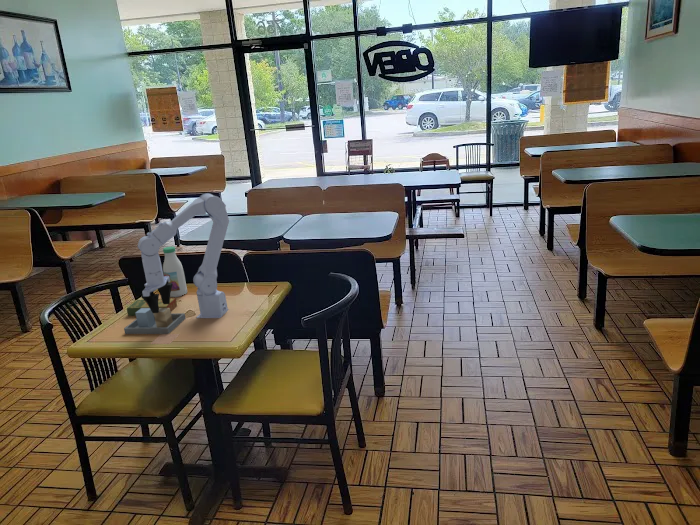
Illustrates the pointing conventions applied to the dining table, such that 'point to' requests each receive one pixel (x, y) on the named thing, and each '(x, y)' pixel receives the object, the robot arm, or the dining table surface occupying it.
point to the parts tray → (134, 328)
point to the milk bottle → (174, 272)
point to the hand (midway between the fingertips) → (161, 308)
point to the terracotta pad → (165, 338)
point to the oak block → (163, 317)
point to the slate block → (145, 318)
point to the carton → (142, 304)
